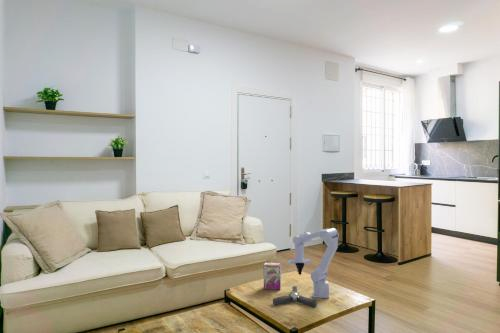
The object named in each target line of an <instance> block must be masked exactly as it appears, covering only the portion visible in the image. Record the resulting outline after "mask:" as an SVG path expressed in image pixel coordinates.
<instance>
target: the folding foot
mask: <svg viewBox="0 0 500 333" xmlns="http://www.w3.org/2000/svg"><path fill="white" fill-rule="evenodd" d="M291 287H292V291H291V292H298V286H297V285H292V286H291Z"/></svg>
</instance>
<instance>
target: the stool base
mask: <svg viewBox="0 0 500 333" xmlns="http://www.w3.org/2000/svg"><path fill="white" fill-rule="evenodd" d="M299 294H300V292H298V291H297V292H292V291H291V292H290V294H289V295H285V296H284V295H283V296H279V297H274V298H272V305H273V307H274V306H275V307H277V306H281V305H286V304H290V303H298V304H302V305H304V306H308V307H312V308H314V309H315V308H316V307H318V300H317V299H313V298H309V297H307V296H302V295H299Z"/></svg>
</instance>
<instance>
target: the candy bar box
mask: <svg viewBox="0 0 500 333" xmlns="http://www.w3.org/2000/svg"><path fill="white" fill-rule="evenodd" d="M281 289H282V263H280V262H277V263H275V262H264V264H263V290H272V291H274V290H275V291H280V290H281Z"/></svg>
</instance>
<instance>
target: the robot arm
mask: <svg viewBox="0 0 500 333" xmlns="http://www.w3.org/2000/svg"><path fill="white" fill-rule="evenodd" d="M318 237H319V238H320V239H322V241H323V242H324V244H325V245H326V246H327V247H326V249H325V251H324V253H323V255H322V257H321V260H320V262H319V264H318V265H317V267H316V268H315V269H314V270H313V272H311V273H310V278H311V281H312V283H313V284H312V285H313V286H312V287H313V290H312V297H313V298H319V299H329V298H330V286H329V284H330V283H329V281H328V280H327V279H326V278H328V274H329V270H328V267H329V266H330V264H331V262H332V260H333V258H334V256H335V254H336V251H337V250H338V248H339V237H340V233H339V232H338V230H337V229H336V228H335V227H331V228H324V229H323V228H322V229H320V230H316V231H314V232H310V231H309V232H308V231H305V232H304V233H300V234H299V235H295V236H293V238H292V243H293V244H294V259H289V260H288V261H287V262H288V265H294V264H295V266H296V269H297V272H298V275H300V276H301V275H302V272H303V269H304V267H305V264H307V263H309V264H311V261H312V260H311V259H310V258H305V257H304V256H305V252H304V249H305V248H304V246H305V243H308V242H312V241H313V239H315V238H318Z"/></svg>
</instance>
